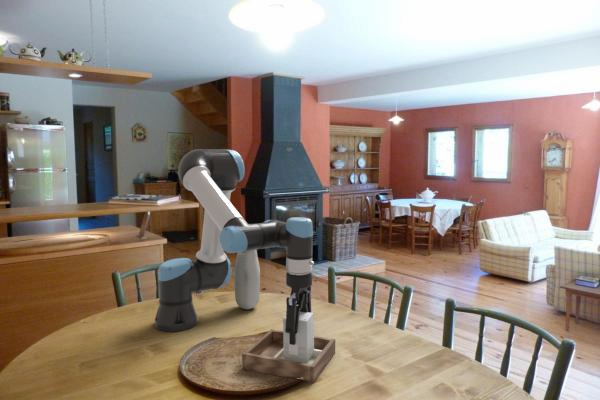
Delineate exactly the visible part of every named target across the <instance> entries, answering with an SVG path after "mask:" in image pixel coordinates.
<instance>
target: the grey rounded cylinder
mask: <svg viewBox="0 0 600 400" xmlns="http://www.w3.org/2000/svg"><path fill="white" fill-rule="evenodd" d="M235 259H236V260H235V265H234V272H233V273H234V274H233V276H234V277H233V279H234V298H235V299H234V300H235V302H236V305H237V306H238V307H239V308H241V309H243V310H251V309H254V308H255V307H256V306H257V305H258V303H259V301H260V297H261V295H260V294H261V268H260V263H259V262H260V261H259V257H258V249H257V250H251V251H245V252H241V253H237V254H236V258H235Z"/></svg>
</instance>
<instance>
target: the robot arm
mask: <svg viewBox="0 0 600 400" xmlns="http://www.w3.org/2000/svg"><path fill="white" fill-rule="evenodd" d="M177 173H178V178H179V181H180V183H181V184H182V186H183V187H184V189H186V190H187V191H189V192H192V194H193V196H195V199H196V200H197V201H198V202H199V204H200V205H201V207H202V208H203V209H204V215H203V223H202V234H201V243H200V250H198V251H197V252H196V254H195V260H192V259H191V258H189V257H180V258H172V259H168V260H166V261H164V262H162V263H161V264H160V265H159V266H158V275H157V279H158V302H159V303H158V304H159V305H158V308H157V311H156V315H155V318H154V328H155V329H157V330H159V331H163V332H171V333H172V332H181V331H186V330H190V329H192V328H194V327H195V326H196V325H197V324H198V321H199V320H198V319H199V318H198V314H197V311H196V309H195V305H194V303H193V294H195V293H199V292H200V293H201V292H204V291H209V290H216V289H220V288H222V287H225V286H226V285H227V284H229V282H230V281H231V277H232V272H233V269H232V267H231V266H232V263H231V261H230V259H229V257H228V256H227V254H235V253H241V252H245V251H251V250H257V251H258V250H262V249H270V248H271V249H272V248H275V247H276V248H283V249H286V252H285V253H286V254H285V259H286V260H285V270H286V274H285V275H286V276H285V277H286V278H285V283H286V285H287V287H289V288H290V294H289V295H290V297H289V296H287V297H286V301H285V302H286V303H285V304H286V311H285V312H286V314H285V316H286V328H285V332H286V333H289V354H291V355H297V356H298V355H299V332H297V330H298V323H299V315H300V312H309V313H312V297H311V296H312V295H311V293H312V292H311V291H312V286H313V273H312V271H313V265H315V262H314V261H313V247H314V246H313V245H314V243H313V242H314V239H313V238H314V227H313V221H312V219H310V218H308V217H300V216H298V217H297V216H296V217H295V216H294V217H290V218H288V219H287V220H286V222H284V221H281V220H277V219H267V220H264V221H263V222H260V223H258V222H257V223H248V222H247V221H246V220H245V218H244V217H243V215H241V214H240V212H239V211H238V209H237V208H236V207H235V206H234V205H233V204H232V202H231V196H232V195H231V194H232V192H234V191H235V190H236V188H237V183H239V182H241V181H242V180H243V179H244V177H245V163H244V159H243V158H242V155H240V153H239V152H237V150H235V149H234V150H233V149H226V148H220V149H215V148H214V149H213V148H211V149H207V148H205V149H202V148H201V149H200V148H199V149H192V150H190V151H189V152H187V153H186V154H185V155H183V157H182V158H181V160H180V161H179V164H178V169H177ZM226 253H227V254H226Z"/></svg>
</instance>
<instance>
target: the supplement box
mask: <svg viewBox="0 0 600 400" xmlns="http://www.w3.org/2000/svg"><path fill="white" fill-rule="evenodd" d="M314 313H315V312H311V313H309V312H300V315H299V323H298V330H297V332H299V355H298V356H297V355H291V354H289V333H286V332H285V328H286V315H285V316H284V317H283V318H282V325H283V327H282V328H283V329H282V331H283V349H284V359H285V360H290V361H296V362H301V363H308V362H309V360H310V359H311V357H312V356H313V354H314V336H315V314H314Z"/></svg>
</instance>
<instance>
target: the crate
mask: <svg viewBox="0 0 600 400" xmlns="http://www.w3.org/2000/svg"><path fill="white" fill-rule="evenodd" d="M335 354H336V338H329V337H323V336H318V335H314V354H313V356H312V357H311V359H310V360H309V362H308V363H301V362H296V361H290V360H285V359H284V349H283V330H279V329H269V330H268V331H267V332H266V333H265V334H264V335H263V336H261V337H260V338H259V339H258V340H257V341H256V342H254V343H253V344H252V345H251V346H250V347H248V349H246V350H245V351H244V352H242V355H241V362H242V365H241V367H242V368H241V369H242V370H248V371H252V372H257V373H262V374H267V375H273V376H278V377H283V378H287V377H289V379H292V378H301V377H303V378H304V380H303V382H309V383H313V384H314V383H315V382H316V381H317V380H318V378H319V377H320V375H321V374H322V373H323V371H325V368H326V367H327V365H328V364H329V362H331V360H332V359H333V357H334V356H335Z"/></svg>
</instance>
